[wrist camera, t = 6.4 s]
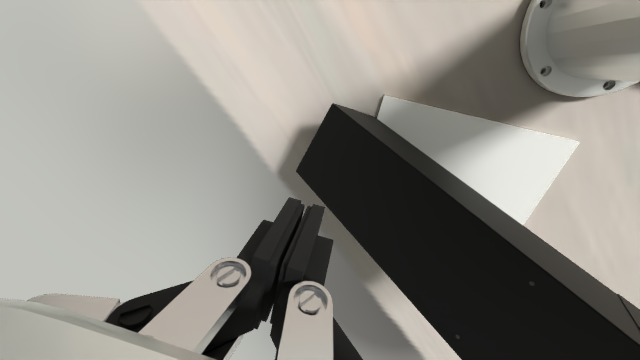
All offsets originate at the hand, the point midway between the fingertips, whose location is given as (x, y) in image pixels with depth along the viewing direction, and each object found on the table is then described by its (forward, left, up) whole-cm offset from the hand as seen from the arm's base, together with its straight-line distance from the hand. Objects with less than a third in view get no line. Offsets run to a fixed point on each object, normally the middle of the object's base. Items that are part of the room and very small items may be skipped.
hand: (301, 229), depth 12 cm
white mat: (-13, +2, -20) cm, 24 cm away
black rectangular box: (0, +1, -17) cm, 17 cm away
